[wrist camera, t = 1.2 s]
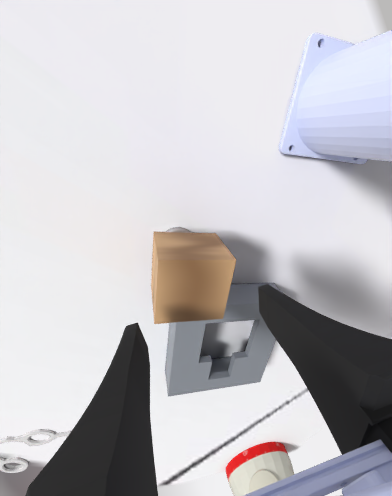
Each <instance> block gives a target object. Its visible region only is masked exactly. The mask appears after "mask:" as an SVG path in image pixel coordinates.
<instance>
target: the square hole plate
mask: <svg viewBox="0 0 392 496" xmlns="http://www.w3.org/2000/svg"><path fill="white" fill-rule="evenodd" d="M266 284H269V285H270V286H272V287H273V288H275V289H277V290H278V291H280V289H279V288H278V287H277V286H276V285H275V284H274V283H255V284H231V286H230V290H229V295H228V299H227V303H226V308H225V312H224V317H223V319H214V320H201V321H187V322H174V323H169V334H168V344H167V355H166V365H165V374H166V382H167V391H168V396H174V395H180V394H187V393H193V392H199V391H206V390H212V389H219V388H225V387H231V386H238V385H244V384H250V383H257V382H260V381H261V378H262V375H263V373H264V370H265V367H266V365H267V362H268V359H269V357H270V354H271V352H272V349H273V346H274V344H275V341H276V339H275V337H274V336H273V334H272V333H271V331H270V330H269V329H268V327H267V325H266V324H265V322H264V320H263V318H262V316H261V314H260V312H259V295H258V287H259V286H262V285H266ZM280 292H281V291H280ZM246 320H255V321H254V324H253V327H252V330H251V334H250V337H249V340H248V343H247V347H246V350H245V351H244V352H235V353H233V354H232V357H225V358H217V359H211V356H210V355H209V356H201V357H200V353H201V347H202V342H203V337H204V331H205V326H206V324H208V323H220V322H233V321H246Z"/></svg>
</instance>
